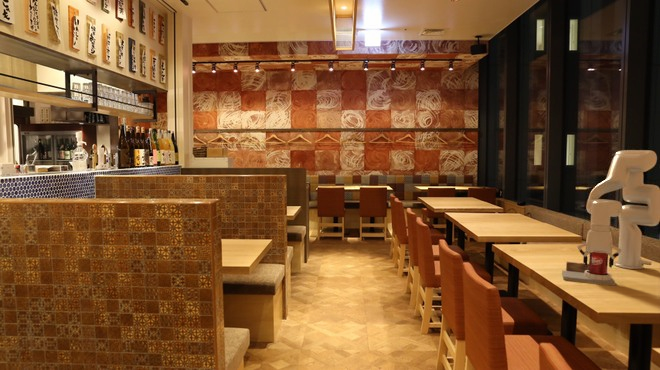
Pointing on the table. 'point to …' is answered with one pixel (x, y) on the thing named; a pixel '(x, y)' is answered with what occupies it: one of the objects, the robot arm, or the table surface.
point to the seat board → (584, 279)
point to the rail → (576, 267)
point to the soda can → (598, 263)
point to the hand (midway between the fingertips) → (598, 265)
